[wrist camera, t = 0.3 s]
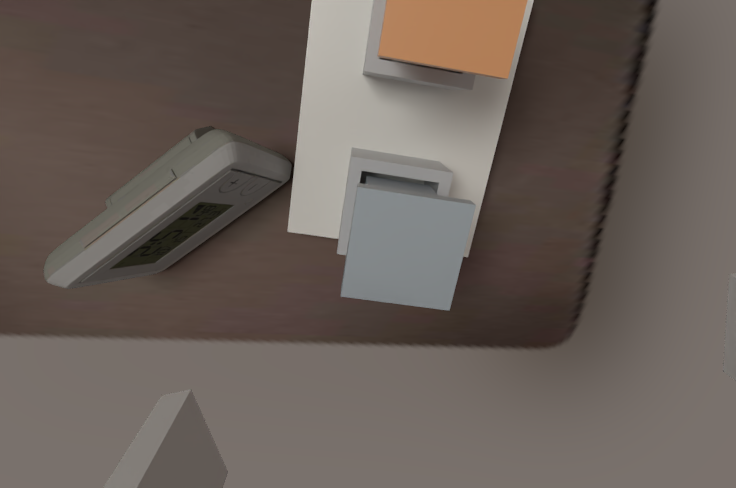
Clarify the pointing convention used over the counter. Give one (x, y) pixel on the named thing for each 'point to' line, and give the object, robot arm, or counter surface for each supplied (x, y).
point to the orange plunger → (453, 34)
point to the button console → (386, 121)
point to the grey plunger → (405, 244)
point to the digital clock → (169, 209)
